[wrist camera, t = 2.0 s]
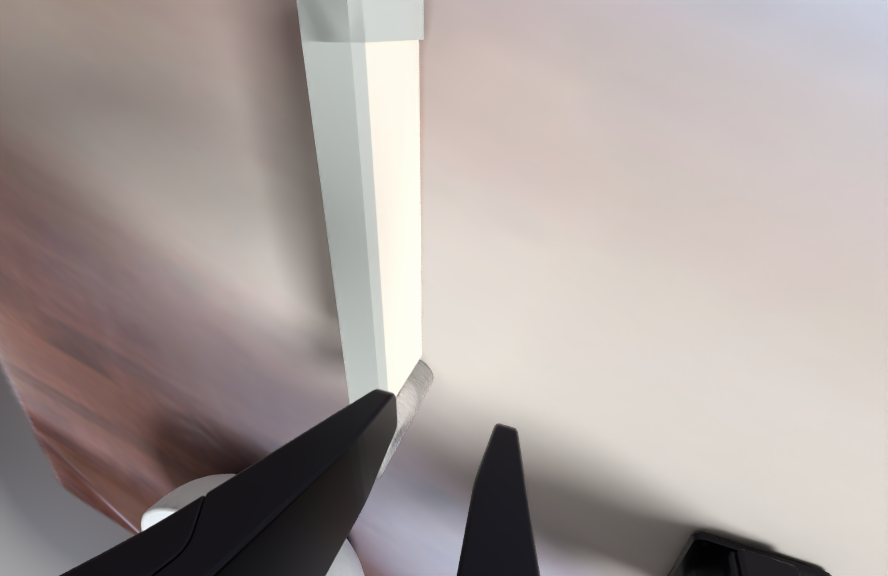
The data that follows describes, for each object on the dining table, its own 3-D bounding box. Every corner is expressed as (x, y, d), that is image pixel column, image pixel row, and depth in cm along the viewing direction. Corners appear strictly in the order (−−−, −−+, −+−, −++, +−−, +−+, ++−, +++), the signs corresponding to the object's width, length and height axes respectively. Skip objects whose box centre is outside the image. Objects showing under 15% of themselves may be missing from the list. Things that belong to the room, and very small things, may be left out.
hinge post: (433, 393, 26) (384, 485, 21) (396, 383, 26) (340, 470, 21) (433, 362, 25) (381, 452, 19) (395, 352, 25) (335, 437, 20)
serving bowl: (301, 585, 49) (260, 656, 44) (171, 458, 44) (107, 520, 39) (436, 587, 38) (404, 682, 33) (284, 417, 33) (215, 495, 28)
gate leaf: (424, 356, 24) (381, 426, 20) (399, 349, 25) (351, 416, 20) (423, -13, 15) (345, -29, 11) (383, -13, 16) (292, -29, 11)
